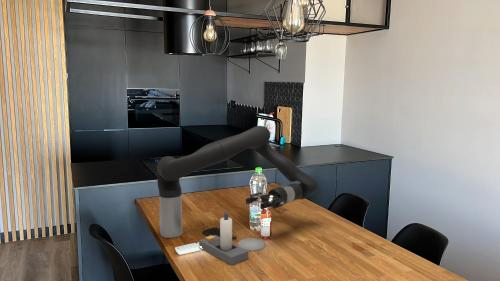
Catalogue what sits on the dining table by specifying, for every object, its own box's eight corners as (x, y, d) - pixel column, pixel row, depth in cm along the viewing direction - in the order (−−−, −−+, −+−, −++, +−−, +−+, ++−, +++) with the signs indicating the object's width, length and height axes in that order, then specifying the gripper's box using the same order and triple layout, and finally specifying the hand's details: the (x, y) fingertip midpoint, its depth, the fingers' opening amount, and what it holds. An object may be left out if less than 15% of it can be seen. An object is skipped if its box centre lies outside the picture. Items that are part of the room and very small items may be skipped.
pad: (232, 244, 159) (232, 243, 159) (252, 237, 166) (252, 235, 166) (250, 253, 151) (250, 252, 151) (271, 245, 158) (271, 244, 158)
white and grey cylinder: (218, 254, 150) (217, 211, 147) (227, 251, 153) (226, 208, 150) (225, 258, 147) (225, 214, 144) (234, 254, 150) (234, 211, 147)
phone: (215, 226, 175) (237, 236, 164) (215, 229, 176) (237, 239, 165) (200, 231, 170) (223, 242, 159) (201, 233, 170) (223, 244, 159)
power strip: (199, 247, 156) (199, 238, 155) (215, 241, 161) (215, 233, 161) (231, 265, 141) (231, 255, 141) (248, 258, 147) (248, 249, 146)
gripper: (269, 183, 172) (241, 191, 161) (294, 190, 161) (266, 198, 150) (269, 200, 173) (241, 208, 162) (294, 208, 162) (266, 217, 152)
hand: (253, 204), depth 156 cm, fingers open, 8 cm apart
